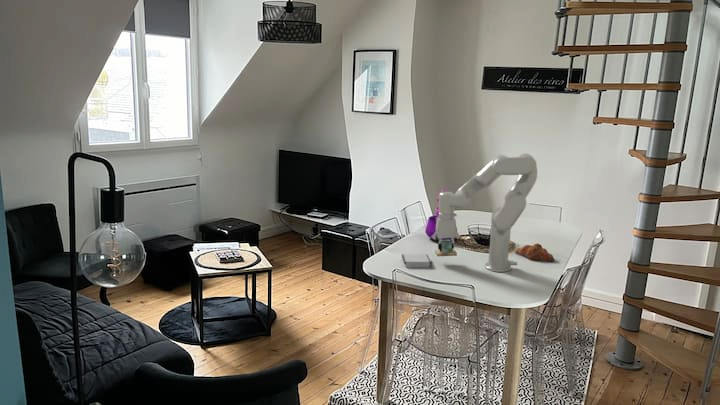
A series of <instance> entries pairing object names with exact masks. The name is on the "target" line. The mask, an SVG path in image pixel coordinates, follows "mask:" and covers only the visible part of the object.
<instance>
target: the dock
mask: <svg viewBox="0 0 720 405" xmlns="http://www.w3.org/2000/svg"><path fill="white" fill-rule="evenodd" d="M401 258H402V261H403V264H404V266H405V268H430V265H432V261H431V259H430V258H429V255H428V254H427V253H426V254H425V253H403V254H402V253H401Z"/></svg>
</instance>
